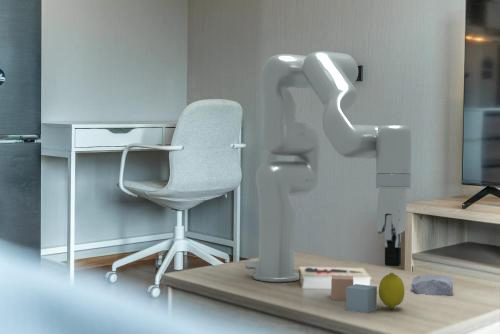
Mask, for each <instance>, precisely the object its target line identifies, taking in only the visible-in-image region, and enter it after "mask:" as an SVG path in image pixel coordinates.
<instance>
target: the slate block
mask: <svg viewBox="0 0 500 334" xmlns="http://www.w3.org/2000/svg"><path fill="white" fill-rule="evenodd" d="M377 289H378V287H377V286H376V285H366V284H358V283H355V284H354V283H353V285H352V286H349V287H346V301H345V310H346V311H351V312H359V313H364V314H365V313H366V314H368V313H370V312H373V311H375V310H377V293H378V292H377V291H378V290H377Z"/></svg>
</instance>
